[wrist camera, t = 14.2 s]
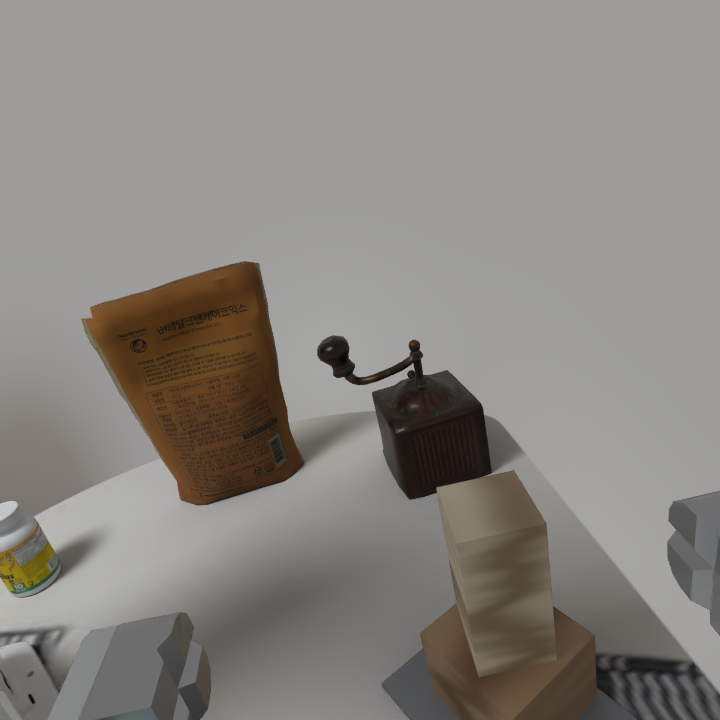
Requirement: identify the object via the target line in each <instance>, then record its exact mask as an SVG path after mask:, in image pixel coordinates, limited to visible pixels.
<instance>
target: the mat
mask: <svg viewBox="0 0 720 720" xmlns="http://www.w3.org/2000/svg"><path fill="white" fill-rule="evenodd" d="M382 686H383V688H384V689H385V690H386V691H387V693H388V694H389V695H390V696H391V697H392V699H393V700H394V701H395V702H396V703H397V705H398V706H399V707H400V708H401V709H402V710H403V712H404V713H405V714H406V715H407V716H408V718H409V719H410V720H460V719H459V717H458V716H457V715H456V714H455V713H454V712H453V711H452V710H451V709H450V708H449V707H448V706H447V705H446V704H445V703H444V701H443V700H442V699H441V698H440V697H439V696H438V695H437V694H436V693H435V692H434V691H433V690H432V685H431V681H430V676H429V672H428V667H427V663H426V658H425V654H424V649H422V650H421V651H420V652H418V653H417V654H416V655H415V656H414V657H412V658H411V659H410V660H409V661H408V662H406V663H405V664H404V665H403V666H402V667H401V668H399V669H398V670H397V671H396V672H395V673H393V674H392V675H391V676H390V677H389V678H388V679H386V680H385V681H384V682H383V683H382ZM576 720H638V719H637V718H635V717H634V716H633V715H632V714H630V713H629V712H628V711H626V710H625V709H624V708H623V707H621V706H620V705H619V704H617V703H616V702H615V701H614V700H612V699H611V698H610V697H608V696H607V695H606V694H605V693H603V692H602V691H601V690H599V689H598V688H597V696H596V697H595V698H594V700H593V701H592V702H591V703H590V704H589V705H588V706H587V707H586V709H585V710H584V711H583V712H582V713H581V714H580V715H579V716H578V718H577V719H576Z"/></svg>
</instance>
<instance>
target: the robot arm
mask: <svg viewBox="0 0 720 720" xmlns="http://www.w3.org/2000/svg"><path fill="white" fill-rule="evenodd" d="M668 521H669V522H670V523H671V524H672V525H673V527H674V528H675V529H676V531H675V533H674V534H673V535H672V537H671V538H670V539H669V541H668V542H667V545H668V561H669V564H670V566H671V570H672V573H673V575H674V577H675V579H676V580H677V582H678V584H679V586H680V587H681V589H682V590H683V591H684V592H685V594H686V595H687V596H688V597H689V599H690V600H691V601H693V602H695V603H697V604H699V605H701V606H703V607H705V608H707V609H709V610H710V624H711V626H712V627H713V628H714V629H715V630H716V632H717V633H718V634H719V635H720V491H717V492H713V493H708V494H704V495H700V496H696V497H691V498H687V499H683V500H679V501H674V502H673V504H672V505H671V507H670V508H669V520H668ZM193 628H194V627H193V625H192V623H191V621H190V619H189V617H188V615H187V613H181V612H180V613H175V614H169V615H164V616H159V617H154V618H149V619H144V620H139V621H134V622H129V623H124V624H121V625H117V626H112V627H107V628H102V629H96V630H92V631H91V632H90V633H89V634H88V635H87V636H86V637H85V638H84V639H83V641H82V643H81V645H80V647H79V650H78V652H77V654H76V656H75V659H74V661H73V663H72V665H71V668H70V670H69V672H68V674H67V677H66V679H65V681H64V683H63V685H62V688H61V690H60V692H58V690H57V689H56V687H55V685H54V683H53V681H52V680H51V678H50V676H49V674H48V672H47V671H46V669H45V667H44V665H43V663H42V661H41V660H40V658H39V656H38V654H37V653H36V651H35V649H34V648H33V647H32V646H31V645H30V644H29V643H28V642H18V643H14V644H10V645H6V646H3V647H0V720H200V719H201V717H202V716H203V715H204V713H205V712H206V711H207V709H208V705H209V698H210V692H211V681H210V667H209V663H208V658H207V655H206V653H205V651H204V648H203V646H202V645H200V644H198V643H196V642H194V641H193V640H191V637H192V633H193Z"/></svg>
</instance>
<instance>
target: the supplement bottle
mask: <svg viewBox="0 0 720 720" xmlns="http://www.w3.org/2000/svg"><path fill="white" fill-rule="evenodd" d="M60 571H61V563H60V561H59V559H58V557H57V555H56V553H55V552H54V550H53V548H52V547H51V545H50V543H49V542H48V540H47V538H46V536H45V534H44V533H43V531H42V529H41V527H40V526H39V524H38V522H37V520H36V519H35V518H34V517H32V516H30V515H23V510H22V509H21V508H20V506H19V504H18V503H17V502H15V501H9V502H5V503H1V504H0V578H1V579H2V581H3V582H4V584H5V585H6V587H7V589H8V590H9V592H10V593H11V594H12V595H13V596H16V597H25V596H30V595H33V594H35V593H38V592H39V591H41V590H43V589H44V588H46V587H47V586H49V585H50V584H51V583H52V582H53V581H54V580H55V579H56V578H57V576H58V575H59V573H60Z"/></svg>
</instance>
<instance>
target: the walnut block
mask: <svg viewBox="0 0 720 720" xmlns="http://www.w3.org/2000/svg"><path fill="white" fill-rule="evenodd" d="M553 616H554V628H555V641H556V654H557V660H554V661H550V662H545V663H541V664H537V665H532V666H528V667H523V668H519V669H514V670H510V671H505V672H501V673H496V674H492V675H487V676H483V677H479V676H478V673H477V670H476V667H475V664H474V660H473V657H472V654H471V651H470V648H469V644H468V641H467V638H466V635H465V632H464V628H463V625H462V622H461V619H460V616H459V613H458V607H457V603H456V604H455V605H454V606H453V607H451V608H450V609H449V610H448V611H447V612H445V613H444V614H443V615H442V616H441V617H439V618H438V619H437V620H436V621H434V622H433V623H432V624H431V625H430V626H428V627H427V628H426V629H425V630H424V631H422V632H421V633H420V636H421V640H422V645H423V649H424V654H425V658H426V663H427V667H428V672H429V676H430V681H431V685H432V690H433V691H434V692H435V693H436V694H437V695H438V696H439V697H440V698H441V699H442V700H443V701H444V703H445V704H446V705H447V706H448V707H449V708H450V709H451V710H452V711H453V712H454V713H455V714H456V715H457V716H458V717H459V719H460V720H576V719H577V718H578V716H579V715H580V714H581V713H582V712H583V711H584V710H585V709H586V707H587V706H588V705H589V704H590V703H591V702H592V701H593V700H594V698H595V697H596V696H597V684H596V656H595V635H594V634H592V633H591V632H589V631H588V630H586V629H585V628H583V627H582V626H581V625H579V624H578V623H576V622H575V621H573V620H572V619H571V618H569V617H568V616H566V615H565V614H563V613H562V612H561V611H559V610H558V609H556V608H555V607H553Z"/></svg>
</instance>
